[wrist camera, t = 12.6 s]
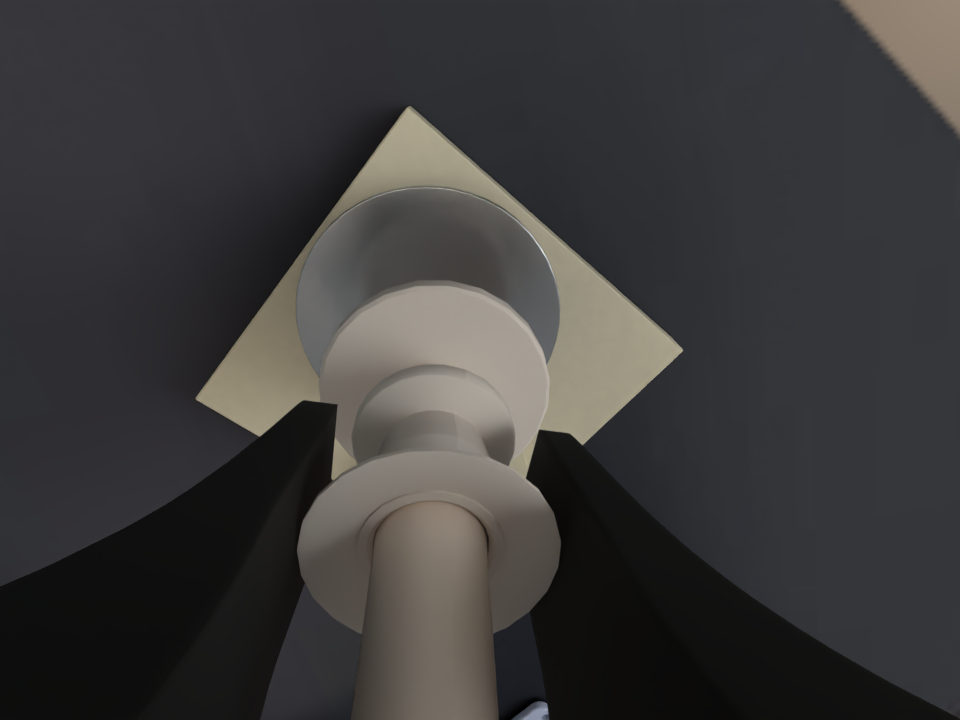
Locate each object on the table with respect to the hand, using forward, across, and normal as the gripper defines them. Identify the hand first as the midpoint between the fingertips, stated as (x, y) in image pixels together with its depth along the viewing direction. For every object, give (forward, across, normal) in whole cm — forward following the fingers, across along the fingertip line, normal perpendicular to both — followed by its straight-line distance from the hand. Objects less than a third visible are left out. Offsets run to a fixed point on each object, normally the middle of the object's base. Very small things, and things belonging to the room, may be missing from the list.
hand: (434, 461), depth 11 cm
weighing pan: (+7, 0, 0) cm, 7 cm away
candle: (+3, 0, 0) cm, 3 cm away
